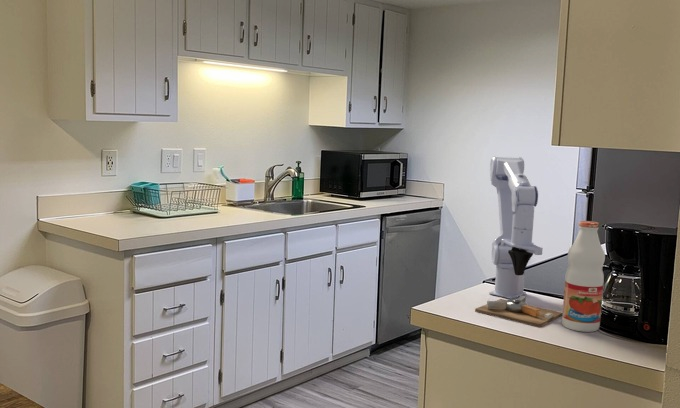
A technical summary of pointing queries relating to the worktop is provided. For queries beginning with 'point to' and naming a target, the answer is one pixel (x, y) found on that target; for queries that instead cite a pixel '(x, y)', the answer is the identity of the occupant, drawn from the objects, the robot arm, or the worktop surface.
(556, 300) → the worktop surface
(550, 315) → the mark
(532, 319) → the board
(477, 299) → the worktop surface
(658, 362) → the worktop surface
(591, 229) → the fruit juice
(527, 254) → the robot arm
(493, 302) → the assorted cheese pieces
